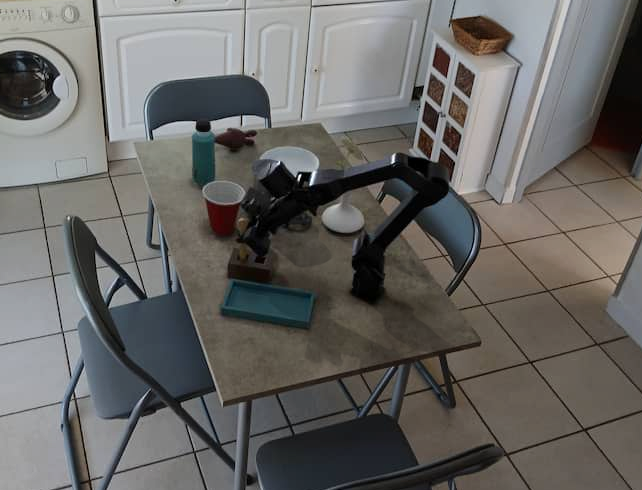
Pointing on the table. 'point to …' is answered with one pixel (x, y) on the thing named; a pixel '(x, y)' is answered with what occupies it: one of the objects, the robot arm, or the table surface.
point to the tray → (268, 303)
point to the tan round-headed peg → (242, 227)
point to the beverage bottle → (203, 153)
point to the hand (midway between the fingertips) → (237, 239)
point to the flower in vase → (345, 202)
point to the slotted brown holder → (251, 266)
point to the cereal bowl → (294, 159)
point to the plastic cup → (222, 205)
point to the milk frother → (255, 184)
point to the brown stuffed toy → (235, 138)
